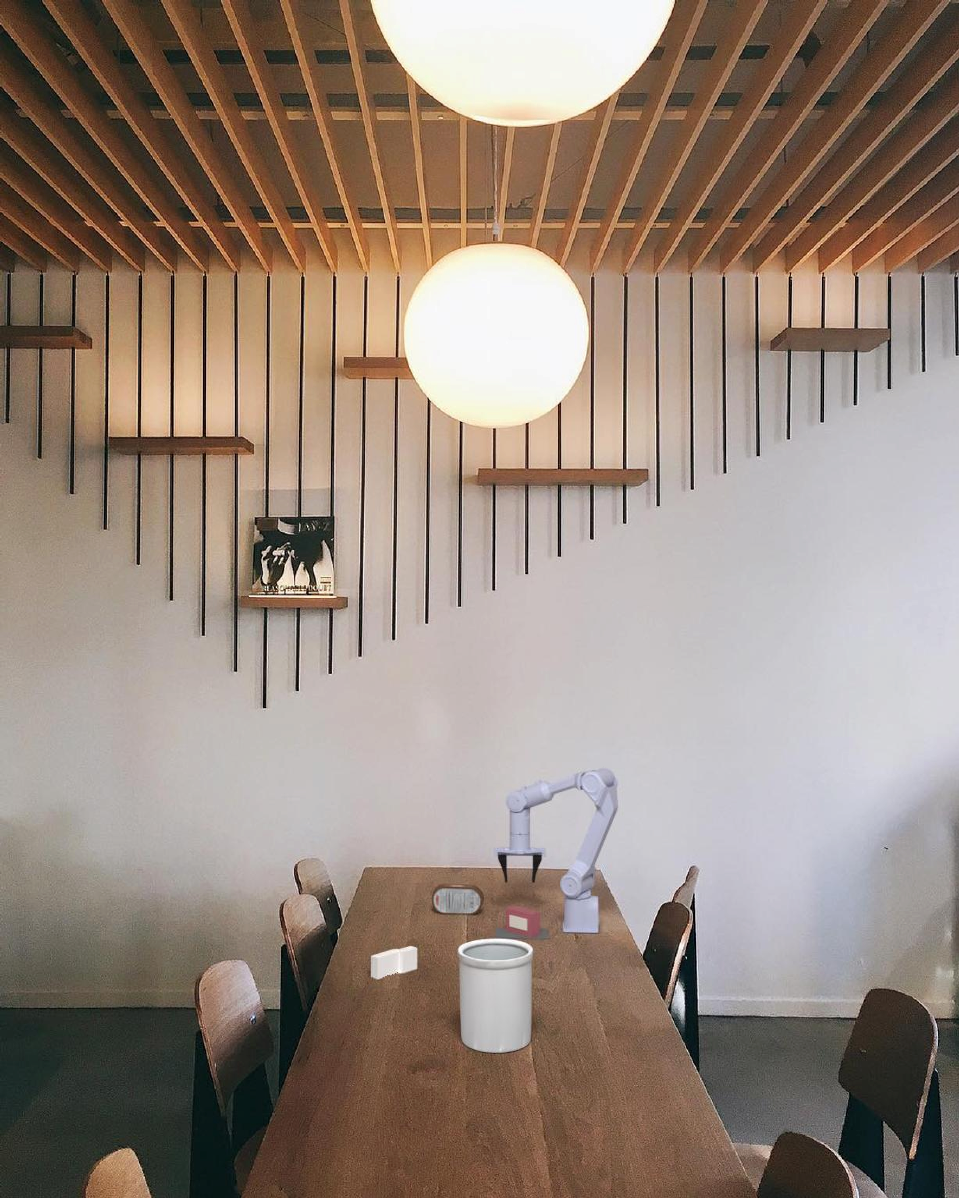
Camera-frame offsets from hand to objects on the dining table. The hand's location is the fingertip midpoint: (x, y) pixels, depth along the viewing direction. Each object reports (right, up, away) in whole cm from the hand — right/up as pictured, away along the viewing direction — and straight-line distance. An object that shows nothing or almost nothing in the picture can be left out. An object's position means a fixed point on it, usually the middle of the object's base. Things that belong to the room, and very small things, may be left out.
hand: (519, 881), depth 274 cm
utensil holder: (-8, -7, -83) cm, 84 cm away
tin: (-18, -11, +5) cm, 21 cm away
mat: (0, -10, -15) cm, 17 cm away
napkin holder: (-31, -9, -45) cm, 55 cm away
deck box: (0, -9, -15) cm, 17 cm away
